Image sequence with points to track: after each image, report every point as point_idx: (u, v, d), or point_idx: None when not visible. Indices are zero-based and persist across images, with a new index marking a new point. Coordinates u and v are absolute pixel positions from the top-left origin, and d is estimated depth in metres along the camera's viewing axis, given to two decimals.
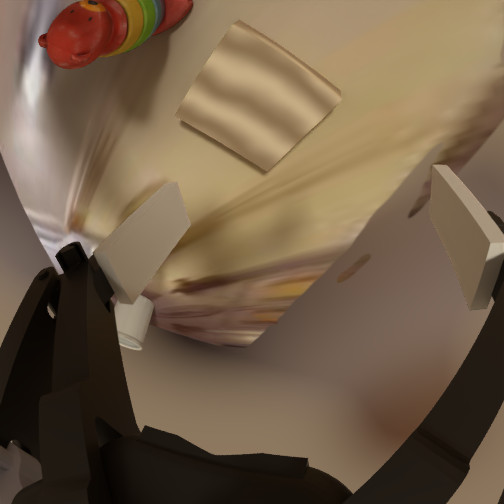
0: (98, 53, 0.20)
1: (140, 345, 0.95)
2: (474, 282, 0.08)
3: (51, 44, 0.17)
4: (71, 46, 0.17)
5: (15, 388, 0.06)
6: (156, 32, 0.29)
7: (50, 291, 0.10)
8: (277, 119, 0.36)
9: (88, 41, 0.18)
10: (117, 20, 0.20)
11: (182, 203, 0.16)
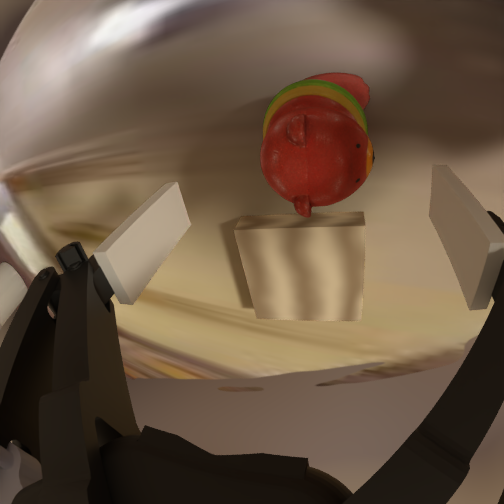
0: None
1: None
2: (474, 282, 0.08)
3: (307, 156, 0.16)
4: (320, 192, 0.17)
5: (15, 388, 0.06)
6: None
7: (50, 291, 0.10)
8: (307, 300, 0.42)
9: (331, 202, 0.18)
10: None
11: (182, 203, 0.16)
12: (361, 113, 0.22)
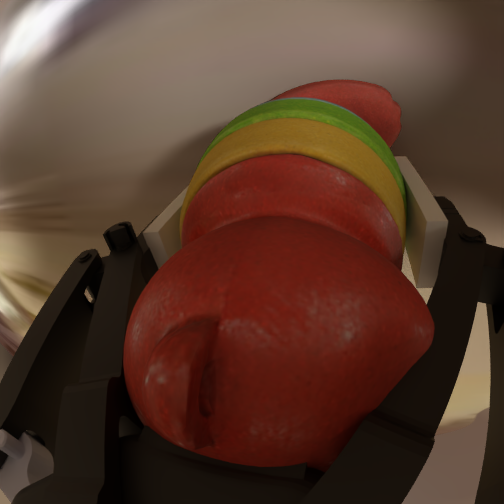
0: None
1: None
2: (419, 261, 0.09)
3: None
4: None
5: (37, 378, 0.06)
6: None
7: (89, 276, 0.10)
8: None
9: None
10: None
11: None
12: (400, 183, 0.10)
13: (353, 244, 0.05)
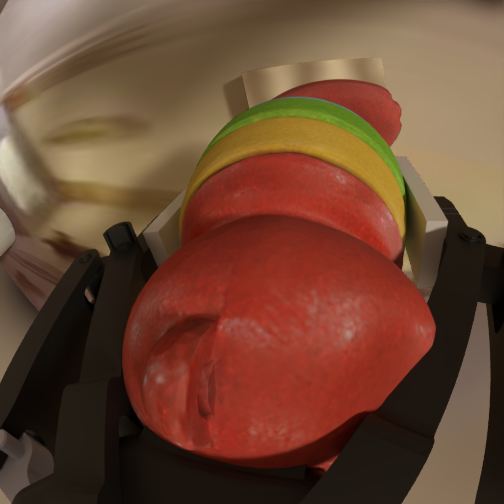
0: None
1: None
2: (418, 261, 0.09)
3: (221, 461, 0.04)
4: None
5: (37, 378, 0.06)
6: None
7: (90, 276, 0.10)
8: None
9: None
10: None
11: None
12: (400, 182, 0.10)
13: (353, 243, 0.05)
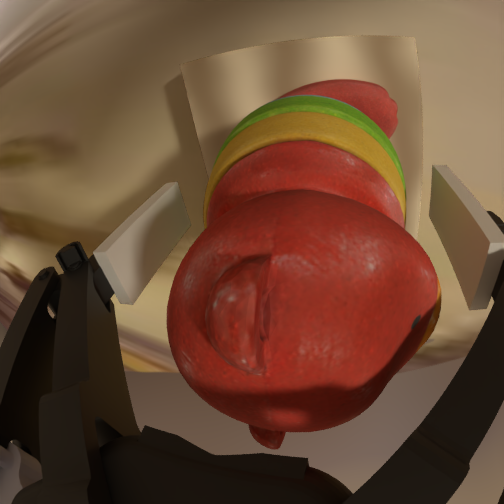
0: None
1: None
2: (474, 282, 0.08)
3: (268, 393, 0.05)
4: (303, 431, 0.06)
5: (15, 388, 0.06)
6: None
7: (50, 291, 0.10)
8: None
9: None
10: None
11: (182, 203, 0.16)
12: (399, 168, 0.11)
13: (366, 206, 0.06)
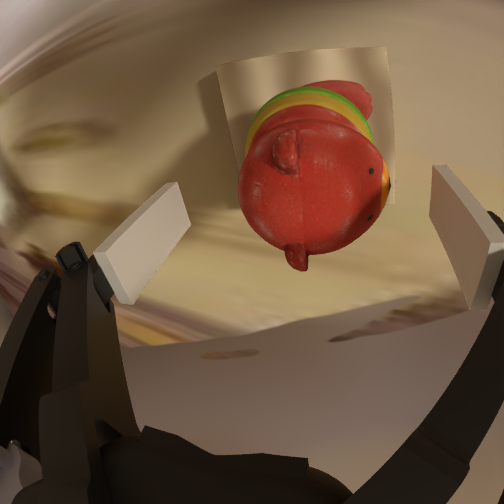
0: None
1: None
2: (474, 282, 0.08)
3: (301, 189, 0.11)
4: (320, 239, 0.13)
5: (15, 388, 0.06)
6: None
7: (50, 291, 0.10)
8: None
9: (335, 249, 0.14)
10: None
11: (182, 203, 0.16)
12: (367, 127, 0.17)
13: None
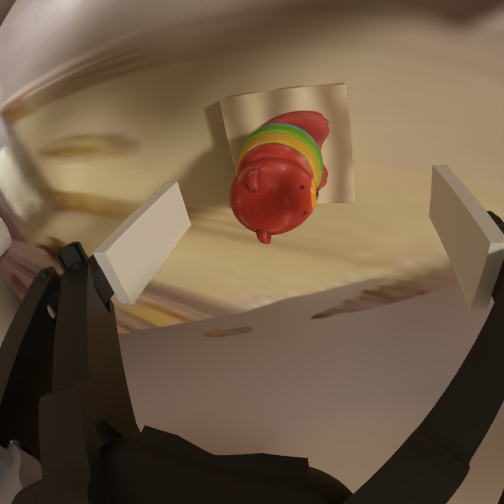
0: None
1: None
2: (474, 282, 0.08)
3: (261, 200, 0.23)
4: (274, 225, 0.24)
5: (15, 388, 0.06)
6: None
7: (50, 291, 0.10)
8: None
9: (285, 231, 0.25)
10: None
11: (182, 203, 0.16)
12: (315, 151, 0.28)
13: (287, 159, 0.24)
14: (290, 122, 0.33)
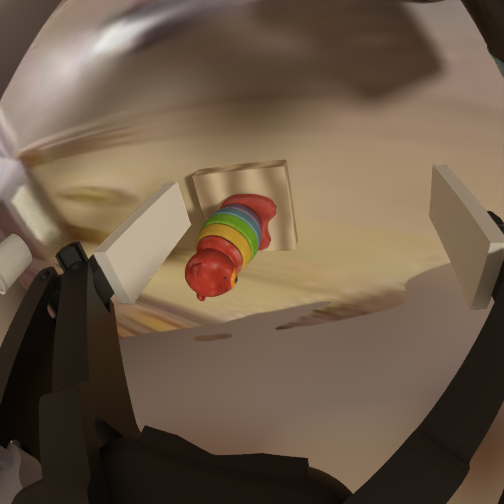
0: None
1: (5, 291, 0.75)
2: (474, 282, 0.08)
3: (198, 282, 0.39)
4: (205, 294, 0.41)
5: (15, 388, 0.06)
6: None
7: (50, 291, 0.10)
8: None
9: (213, 296, 0.42)
10: None
11: (182, 203, 0.16)
12: (250, 241, 0.44)
13: (221, 257, 0.40)
14: (246, 204, 0.48)
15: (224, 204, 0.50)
